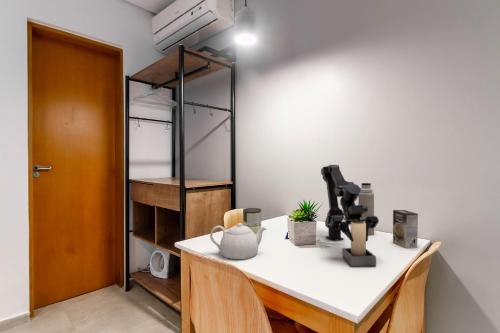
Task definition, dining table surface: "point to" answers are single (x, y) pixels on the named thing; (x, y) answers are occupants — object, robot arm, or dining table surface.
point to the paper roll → (358, 238)
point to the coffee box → (405, 228)
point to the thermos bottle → (367, 202)
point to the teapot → (238, 241)
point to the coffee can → (252, 219)
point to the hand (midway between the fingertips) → (359, 240)
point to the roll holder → (359, 259)
